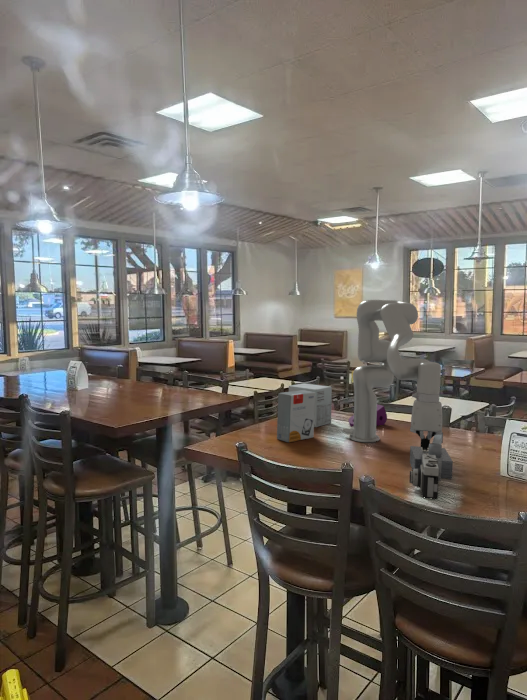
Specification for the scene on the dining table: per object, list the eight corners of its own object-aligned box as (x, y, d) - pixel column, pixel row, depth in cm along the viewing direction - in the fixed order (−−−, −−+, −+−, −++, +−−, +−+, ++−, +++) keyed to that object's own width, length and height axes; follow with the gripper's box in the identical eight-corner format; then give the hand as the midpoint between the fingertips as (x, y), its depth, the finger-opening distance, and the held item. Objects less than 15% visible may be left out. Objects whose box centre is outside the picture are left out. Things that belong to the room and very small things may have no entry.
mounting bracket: (363, 440, 235) (388, 420, 242) (357, 425, 232) (384, 406, 240) (349, 436, 243) (375, 416, 250) (344, 421, 240) (370, 402, 248)
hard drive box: (288, 443, 206) (289, 395, 205) (276, 439, 212) (277, 392, 211) (314, 437, 217) (315, 391, 215) (301, 433, 222) (302, 389, 221)
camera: (408, 481, 163) (410, 451, 162) (435, 484, 161) (436, 453, 160) (409, 496, 150) (410, 464, 149) (438, 500, 148) (439, 467, 147)
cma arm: (427, 456, 164) (428, 445, 163) (432, 440, 183) (433, 431, 183) (440, 458, 162) (441, 447, 162) (444, 442, 182) (444, 432, 181)
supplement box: (332, 423, 244) (333, 386, 242) (316, 427, 234) (317, 389, 232) (303, 417, 255) (304, 382, 253) (287, 421, 245) (287, 385, 243)
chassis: (415, 479, 165) (416, 456, 164) (409, 462, 184) (410, 441, 183) (453, 482, 163) (454, 459, 162) (443, 464, 181) (444, 443, 181)
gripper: (405, 398, 171) (402, 450, 173) (451, 401, 167) (448, 454, 169) (405, 394, 178) (402, 444, 180) (449, 397, 174) (446, 448, 176)
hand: (424, 449), depth 175 cm, fingers closed
